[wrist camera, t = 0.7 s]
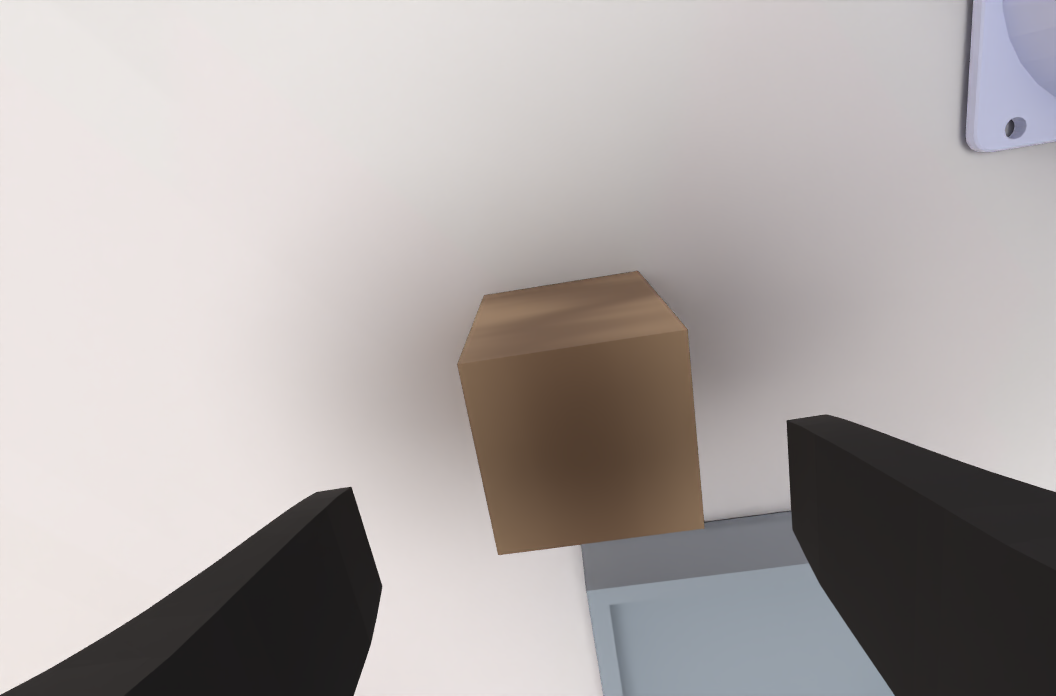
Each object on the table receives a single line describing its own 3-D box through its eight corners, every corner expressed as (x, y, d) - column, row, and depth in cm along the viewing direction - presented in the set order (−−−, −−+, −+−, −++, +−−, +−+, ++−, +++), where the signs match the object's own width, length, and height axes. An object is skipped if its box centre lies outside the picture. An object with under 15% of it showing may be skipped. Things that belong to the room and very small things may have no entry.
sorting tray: (927, 493, 19) (982, 541, 17) (915, 749, 22) (959, 820, 20) (580, 538, 20) (586, 591, 17) (619, 780, 23) (629, 851, 21)
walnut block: (637, 270, 17) (687, 329, 11) (653, 412, 18) (704, 528, 13) (484, 295, 17) (457, 364, 12) (510, 432, 19) (498, 555, 13)
